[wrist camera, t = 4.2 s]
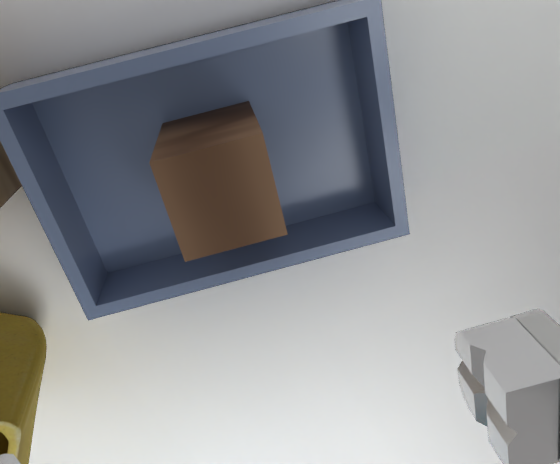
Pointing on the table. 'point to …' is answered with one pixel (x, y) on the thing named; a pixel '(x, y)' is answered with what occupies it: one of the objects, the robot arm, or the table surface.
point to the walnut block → (217, 181)
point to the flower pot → (19, 382)
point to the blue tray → (198, 99)
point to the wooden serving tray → (7, 178)
